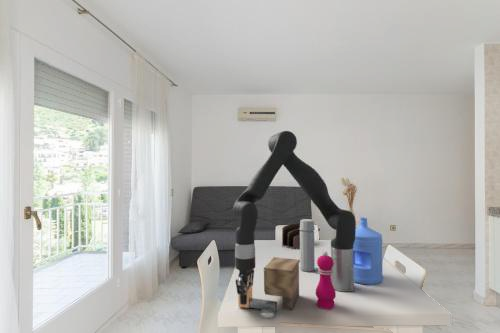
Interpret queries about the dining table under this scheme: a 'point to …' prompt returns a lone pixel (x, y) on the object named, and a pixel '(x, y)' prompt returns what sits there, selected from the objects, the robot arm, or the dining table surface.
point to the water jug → (367, 255)
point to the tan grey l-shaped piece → (256, 301)
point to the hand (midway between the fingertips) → (245, 301)
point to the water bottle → (307, 245)
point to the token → (267, 313)
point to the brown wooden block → (282, 280)
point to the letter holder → (291, 236)
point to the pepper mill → (325, 282)
